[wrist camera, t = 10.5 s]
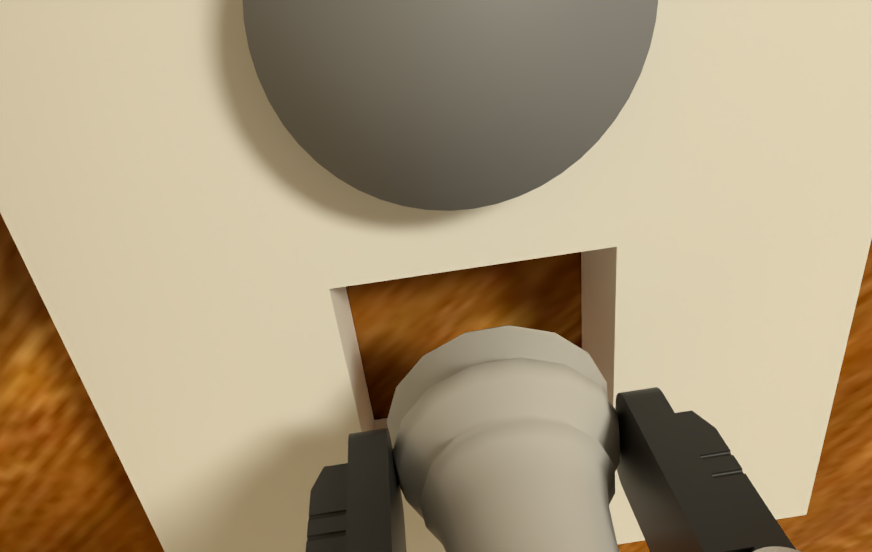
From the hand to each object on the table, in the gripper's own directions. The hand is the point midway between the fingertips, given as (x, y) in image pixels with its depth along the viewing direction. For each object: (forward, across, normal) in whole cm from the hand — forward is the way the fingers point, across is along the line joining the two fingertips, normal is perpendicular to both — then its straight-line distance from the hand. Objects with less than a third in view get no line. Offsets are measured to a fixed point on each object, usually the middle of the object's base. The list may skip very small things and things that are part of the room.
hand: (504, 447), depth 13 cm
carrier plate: (+4, 0, -3) cm, 5 cm away
